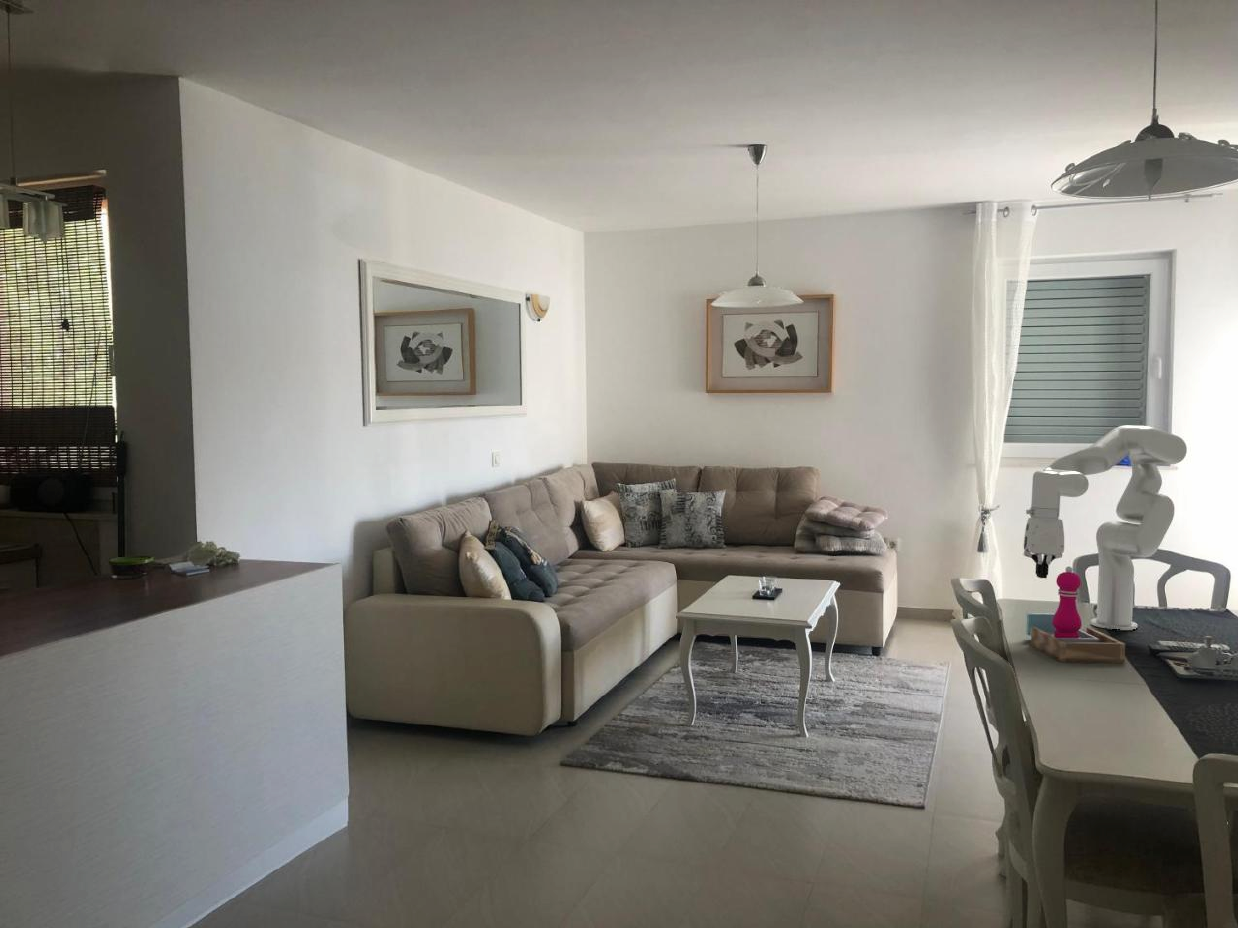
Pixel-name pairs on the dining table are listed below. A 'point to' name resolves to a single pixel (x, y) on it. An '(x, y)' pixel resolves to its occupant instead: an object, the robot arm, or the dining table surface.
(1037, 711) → the dining table surface
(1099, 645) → the cubby
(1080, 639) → the drawer
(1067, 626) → the pepper mill
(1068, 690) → the dining table surface
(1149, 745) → the dining table surface
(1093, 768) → the dining table surface
